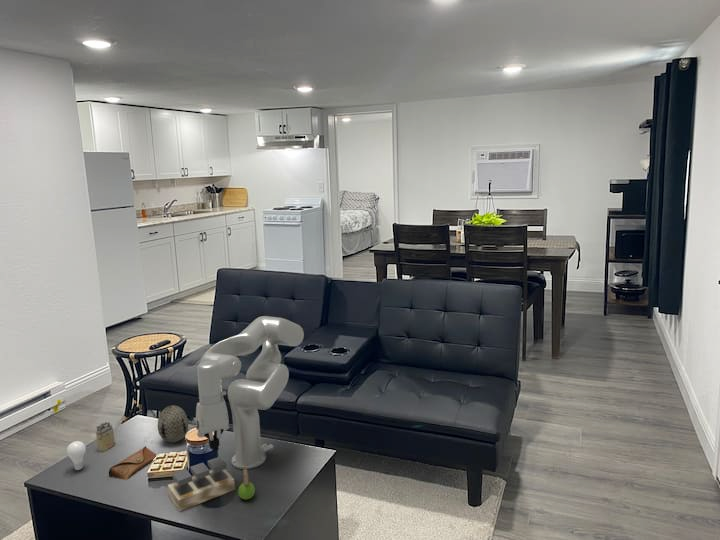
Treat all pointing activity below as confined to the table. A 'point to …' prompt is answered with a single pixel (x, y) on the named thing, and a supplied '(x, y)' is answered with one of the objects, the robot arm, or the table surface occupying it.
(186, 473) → the switch
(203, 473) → the switch middle
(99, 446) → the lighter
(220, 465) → the switch
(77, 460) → the lightbulb
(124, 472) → the sunglasses case
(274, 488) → the table surface
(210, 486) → the switch panel
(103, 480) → the table surface
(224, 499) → the table surface
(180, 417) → the decorative egg
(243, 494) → the green maraca
